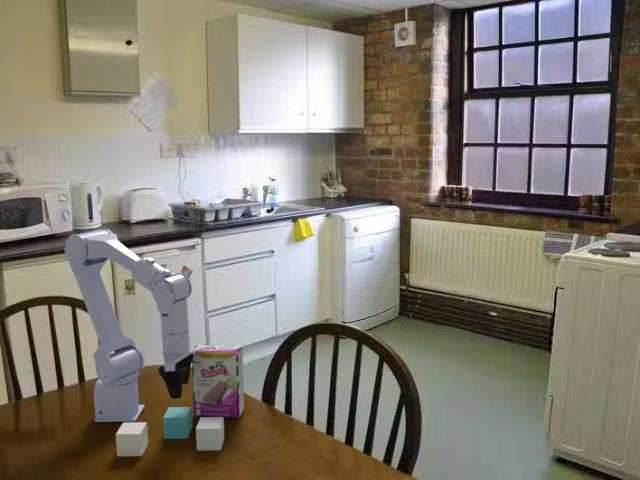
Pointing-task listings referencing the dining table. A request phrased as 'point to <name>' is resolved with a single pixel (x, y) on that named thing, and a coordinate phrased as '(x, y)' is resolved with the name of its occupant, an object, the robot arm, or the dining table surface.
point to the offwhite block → (132, 439)
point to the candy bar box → (218, 381)
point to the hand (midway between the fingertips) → (179, 390)
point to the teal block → (177, 423)
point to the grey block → (210, 433)
